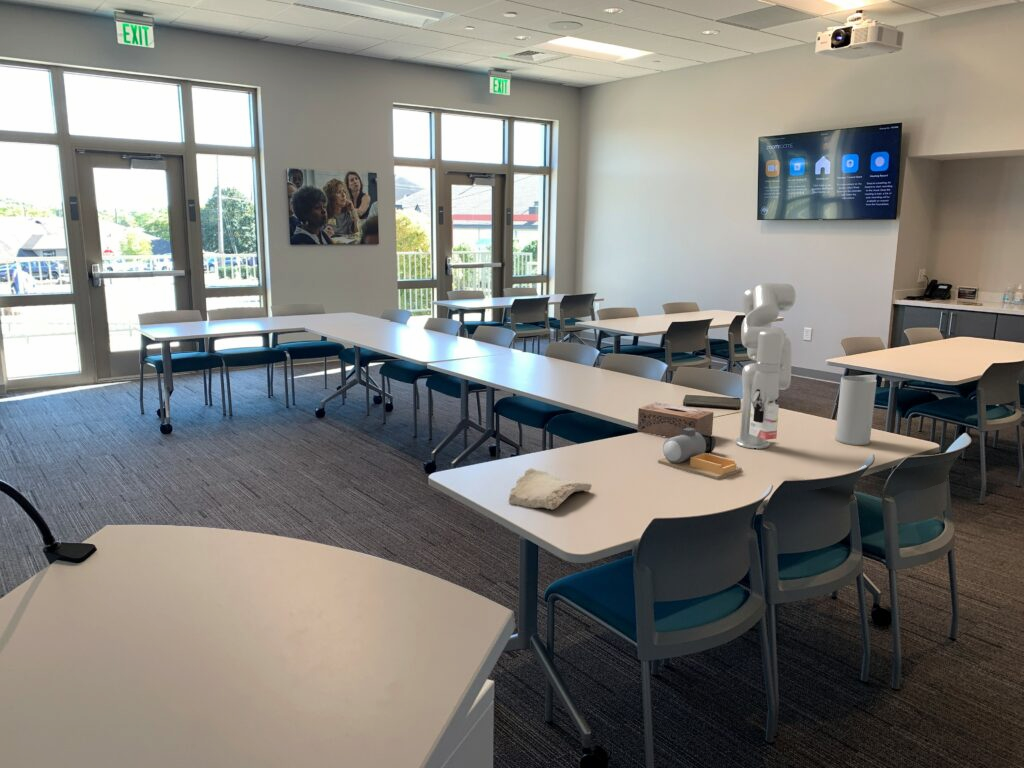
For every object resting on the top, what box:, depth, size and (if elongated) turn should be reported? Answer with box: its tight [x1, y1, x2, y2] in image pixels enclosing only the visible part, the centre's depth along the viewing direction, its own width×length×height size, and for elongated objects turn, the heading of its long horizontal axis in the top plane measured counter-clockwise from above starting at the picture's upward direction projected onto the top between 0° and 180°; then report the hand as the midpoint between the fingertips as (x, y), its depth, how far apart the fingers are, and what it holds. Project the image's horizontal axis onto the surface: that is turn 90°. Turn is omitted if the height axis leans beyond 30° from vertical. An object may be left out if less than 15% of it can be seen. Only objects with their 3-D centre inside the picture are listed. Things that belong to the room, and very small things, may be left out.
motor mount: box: [657, 427, 743, 480], centre depth 261 cm, size 15×24×12 cm, turn 42°
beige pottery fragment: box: [508, 467, 592, 510], centre depth 231 cm, size 24×8×20 cm
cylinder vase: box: [834, 375, 877, 446], centre depth 294 cm, size 12×12×25 cm
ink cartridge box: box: [749, 396, 780, 441], centre depth 253 cm, size 9×5×15 cm, turn 22°
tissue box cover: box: [636, 401, 714, 439], centre depth 304 cm, size 26×14×10 cm, turn 51°
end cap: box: [701, 434, 717, 454], centre depth 280 cm, size 10×7×7 cm
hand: (763, 419), depth 253 cm, fingers closed on ink cartridge box, 6 cm apart
